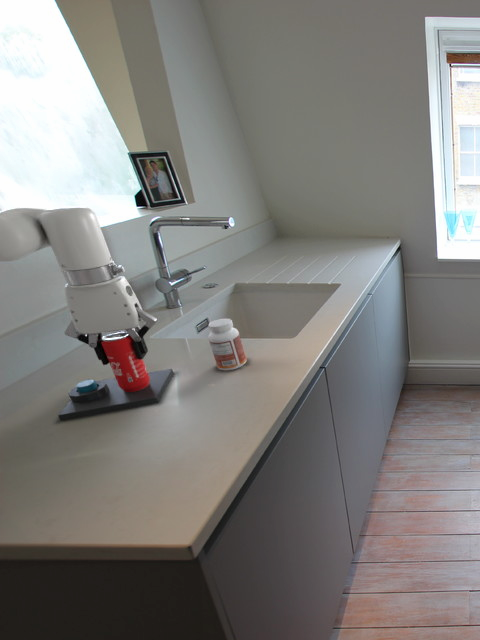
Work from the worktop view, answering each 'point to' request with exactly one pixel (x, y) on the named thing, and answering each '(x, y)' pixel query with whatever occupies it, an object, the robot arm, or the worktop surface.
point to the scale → (115, 396)
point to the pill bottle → (226, 345)
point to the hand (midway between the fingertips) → (125, 358)
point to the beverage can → (125, 362)
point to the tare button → (86, 386)
